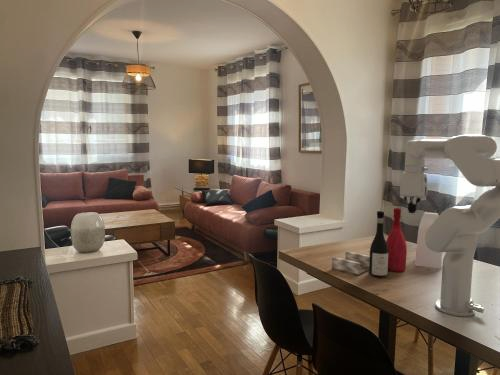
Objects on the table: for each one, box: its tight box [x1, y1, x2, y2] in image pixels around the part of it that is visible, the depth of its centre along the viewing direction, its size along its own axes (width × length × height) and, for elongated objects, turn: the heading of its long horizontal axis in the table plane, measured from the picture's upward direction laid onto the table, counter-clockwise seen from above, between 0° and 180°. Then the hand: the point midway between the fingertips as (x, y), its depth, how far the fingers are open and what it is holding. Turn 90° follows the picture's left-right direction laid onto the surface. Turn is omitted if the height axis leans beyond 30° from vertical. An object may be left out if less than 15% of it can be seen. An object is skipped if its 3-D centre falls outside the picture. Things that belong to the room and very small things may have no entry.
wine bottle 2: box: [385, 207, 408, 273], centre depth 180 cm, size 10×10×30 cm
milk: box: [414, 212, 443, 270], centre depth 188 cm, size 12×12×26 cm
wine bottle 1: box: [368, 210, 389, 279], centre depth 171 cm, size 8×8×30 cm
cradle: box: [331, 250, 370, 277], centre depth 181 cm, size 14×14×6 cm
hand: (411, 212), depth 160 cm, fingers closed
